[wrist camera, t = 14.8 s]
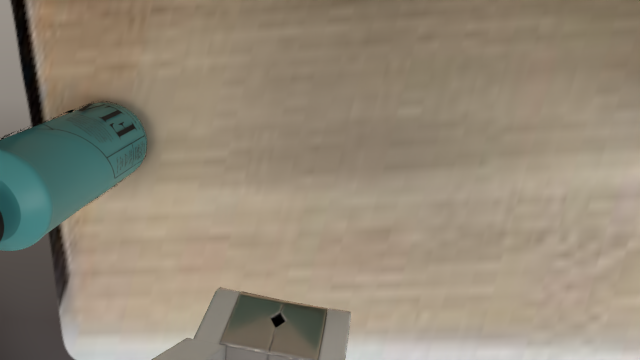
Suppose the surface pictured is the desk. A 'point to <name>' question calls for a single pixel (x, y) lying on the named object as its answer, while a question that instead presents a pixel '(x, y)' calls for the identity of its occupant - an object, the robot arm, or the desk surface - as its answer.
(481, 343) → the desk surface
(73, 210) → the beverage bottle
